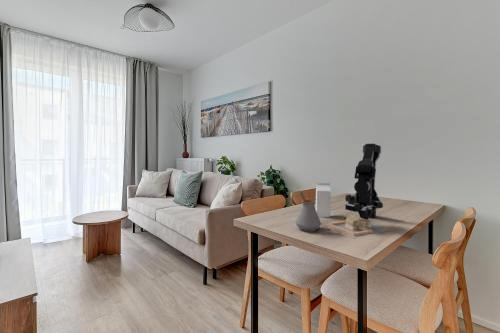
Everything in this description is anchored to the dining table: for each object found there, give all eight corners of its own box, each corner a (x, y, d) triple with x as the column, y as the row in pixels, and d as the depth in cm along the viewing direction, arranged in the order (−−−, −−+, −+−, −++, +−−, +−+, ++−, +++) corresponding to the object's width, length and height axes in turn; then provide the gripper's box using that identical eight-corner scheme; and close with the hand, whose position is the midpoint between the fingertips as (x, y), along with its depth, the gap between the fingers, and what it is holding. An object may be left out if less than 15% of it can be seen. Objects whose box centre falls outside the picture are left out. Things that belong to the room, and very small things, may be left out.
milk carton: (330, 218, 131) (330, 183, 130) (316, 218, 132) (317, 183, 131) (328, 215, 138) (329, 182, 137) (315, 214, 139) (316, 181, 138)
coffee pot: (324, 232, 108) (325, 199, 107) (298, 232, 108) (299, 199, 107) (311, 219, 130) (311, 191, 129) (289, 219, 129) (289, 191, 128)
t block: (352, 223, 118) (352, 215, 118) (370, 229, 110) (371, 220, 109) (340, 226, 115) (340, 217, 115) (358, 232, 106) (358, 223, 106)
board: (356, 221, 126) (356, 218, 125) (390, 232, 109) (390, 227, 109) (325, 227, 116) (325, 222, 116) (356, 239, 100) (356, 234, 100)
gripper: (363, 187, 125) (363, 217, 126) (336, 189, 117) (335, 222, 118) (384, 190, 115) (383, 223, 116) (355, 193, 107) (355, 228, 108)
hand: (363, 223), depth 115 cm, fingers closed
